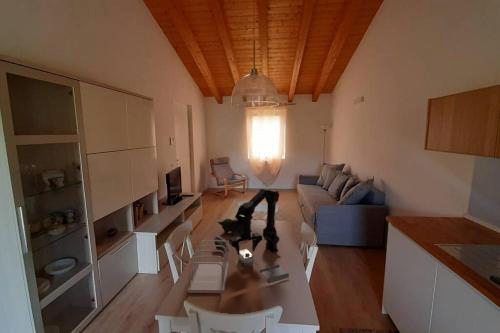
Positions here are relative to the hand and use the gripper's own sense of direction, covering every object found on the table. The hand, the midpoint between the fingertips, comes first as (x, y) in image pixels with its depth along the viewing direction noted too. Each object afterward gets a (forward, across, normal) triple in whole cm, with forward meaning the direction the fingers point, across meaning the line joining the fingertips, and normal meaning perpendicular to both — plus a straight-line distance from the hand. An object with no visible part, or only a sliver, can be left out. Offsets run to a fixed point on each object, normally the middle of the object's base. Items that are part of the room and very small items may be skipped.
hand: (245, 253), depth 139 cm
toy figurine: (+8, -11, -44) cm, 46 cm away
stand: (+8, 0, 0) cm, 8 cm away
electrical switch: (+8, +7, -22) cm, 24 cm away
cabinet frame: (+8, -10, +15) cm, 20 cm away
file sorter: (+8, +22, +2) cm, 23 cm away
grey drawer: (+6, 0, 0) cm, 6 cm away
